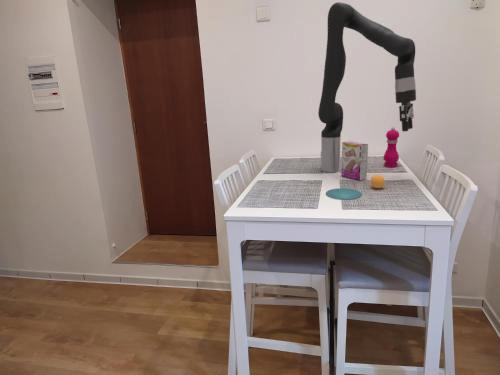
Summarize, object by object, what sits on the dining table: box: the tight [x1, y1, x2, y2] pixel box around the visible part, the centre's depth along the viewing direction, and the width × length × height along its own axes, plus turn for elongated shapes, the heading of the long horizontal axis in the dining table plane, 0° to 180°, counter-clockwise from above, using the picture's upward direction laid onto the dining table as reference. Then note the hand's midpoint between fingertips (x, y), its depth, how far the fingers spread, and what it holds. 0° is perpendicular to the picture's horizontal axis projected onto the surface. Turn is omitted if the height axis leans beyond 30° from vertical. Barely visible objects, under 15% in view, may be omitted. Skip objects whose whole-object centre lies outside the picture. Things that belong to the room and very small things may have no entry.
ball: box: [370, 174, 386, 189], centre depth 138 cm, size 6×6×6 cm
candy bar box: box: [341, 140, 369, 182], centre depth 153 cm, size 11×5×16 cm, turn 31°
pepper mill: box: [382, 126, 400, 169], centre depth 169 cm, size 7×7×20 cm
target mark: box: [325, 187, 363, 201], centre depth 134 cm, size 14×14×1 cm
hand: (407, 130), depth 140 cm, fingers open, 8 cm apart
